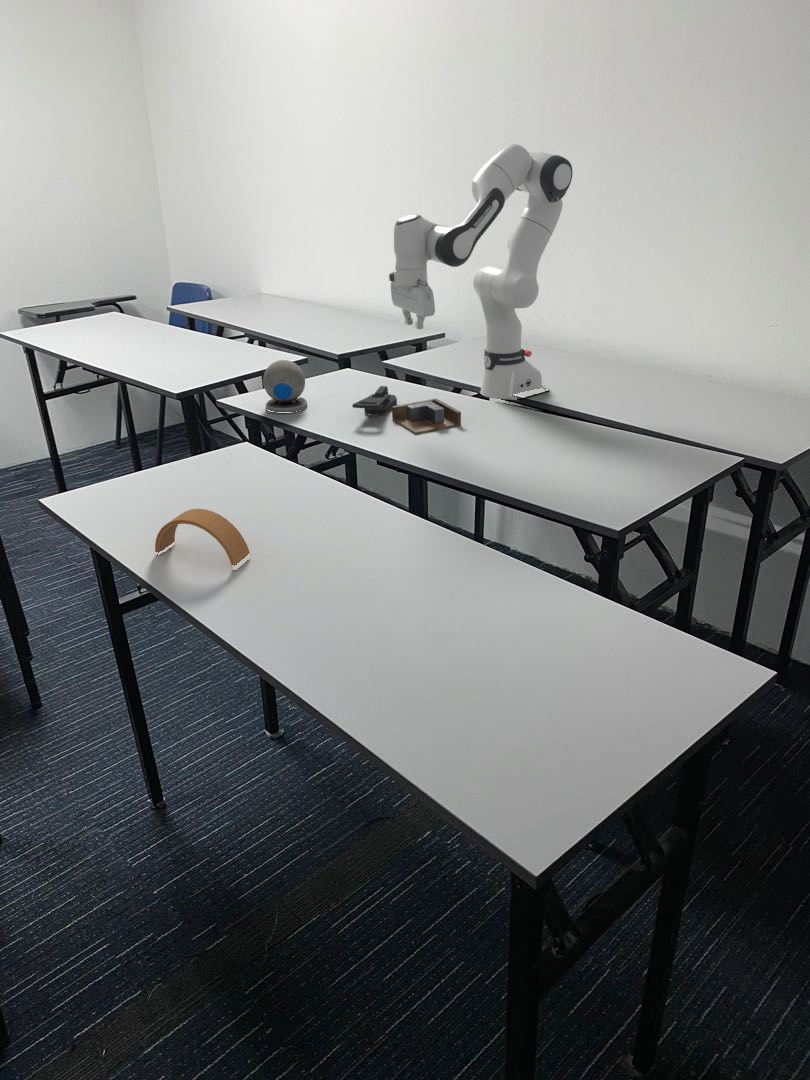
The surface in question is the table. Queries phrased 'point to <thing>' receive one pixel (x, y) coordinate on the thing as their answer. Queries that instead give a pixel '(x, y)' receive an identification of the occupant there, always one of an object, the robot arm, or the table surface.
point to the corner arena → (450, 420)
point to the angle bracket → (425, 413)
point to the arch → (212, 525)
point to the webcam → (284, 387)
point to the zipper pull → (377, 402)
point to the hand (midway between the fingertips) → (414, 326)
